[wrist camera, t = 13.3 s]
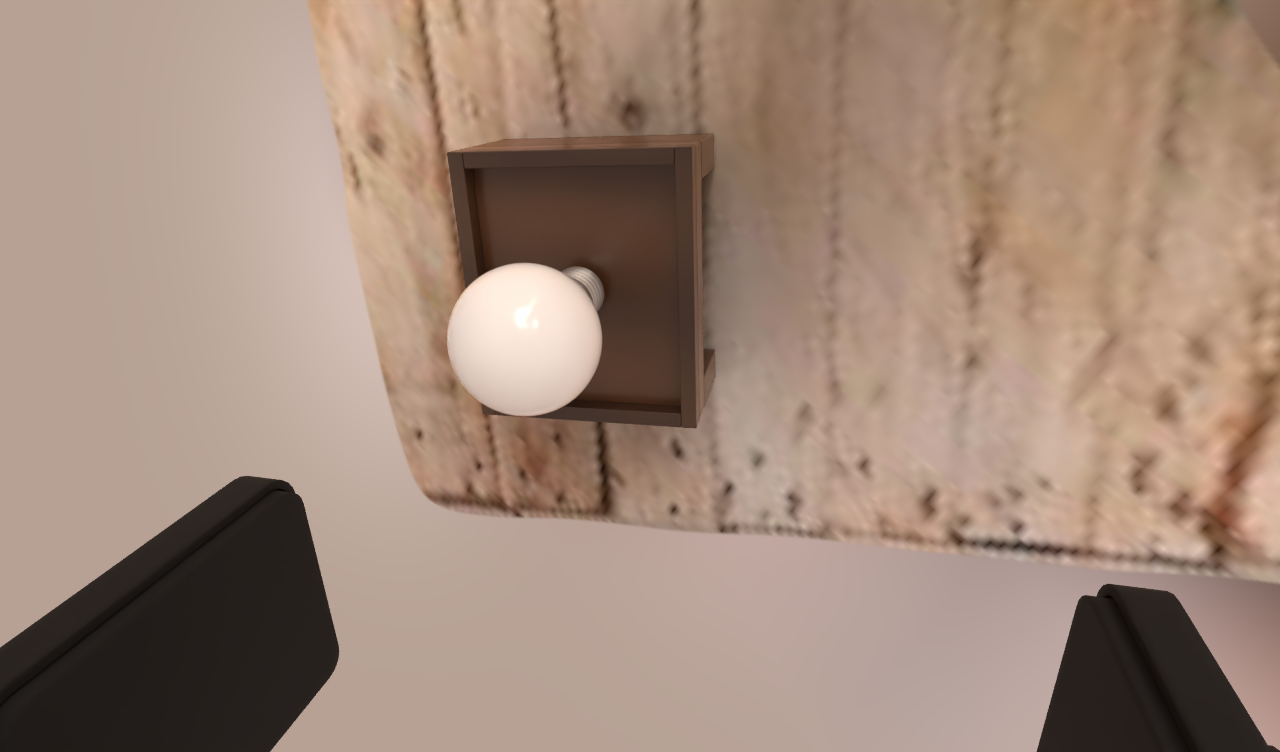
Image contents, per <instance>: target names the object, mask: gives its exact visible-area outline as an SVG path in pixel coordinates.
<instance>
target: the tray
mask: <svg viewBox="0 0 1280 752" xmlns="http://www.w3.org/2000/svg"><path fill="white" fill-rule="evenodd" d="M447 156H448V163H449V170H450V178H451V185H452V192H453V199H454V207H455V214H456V221H457V229H458V236H459V243H460V250H461V258H462V265H463V272H464V280H465V287H466V288H467V287H468V286H469V285H470V284H471V283H472V282H473V281H474V280H476V279H477V278H478V277H480V276H481V275H483V274H484V273H486V272H488V271H490V270H492V269H495V268H497V267H500V266H503V265H508V264H513V263H536V264H541V265H545V266H548V267H551V268H554V269H556V270H558V271H560V272H562V271H563V270H564V269H566V268H569V267H573V266H579V267H584V268H587V269H589V270H590V271H592V272H593V273H594V274H596V275H597V277H598V278H599V279H600V281H601V283H602V285H603V288H604V301H603V304H602V306H601V308H600V309H599V310H598V311H597V313H598V316H599V319H600V323H601V328H602V352H601V357H600V361H599V364H598V367H597V369H596V372H595V374H594V376H593V377H592V379H591V381H590V382H589V384H588V385H587V386H586V388H585V389H584V390H583V391H582V392H581V393H580V394H579V395H578V396H577V397H576V398H575V399H574V400H572V401H571V402H570V403H568V404H567V405H565V406H563V407H562V408H559V409H557V410H555V411H552V412H550V413H546V414H542V415H537V416H518V417H533V418H548V419H564V420H579V421H594V422H609V423H624V424H639V425H654V426H670V427H683V428H697V425H698V423H699V419H700V416H701V414H702V411H703V408H704V406H705V403H706V401H707V398H708V395H709V393H710V390H711V387H712V385H713V382H714V379H715V350H707V349H703V279H702V196H701V179H702V178H703V177H704V176H705V175H707V174H708V173H709V172H710V171H711V170H712V169H714V134H683V135H647V136H611V137H575V138H539V139H505V140H500V141H496V142H491V143H487V144H482V145H478V146H473V147H469V148H465V149H460V150H455V151H451V152H447ZM482 411H483V414H488V415H503V416H514V415H508V414H504V413H501V412H498V411H495V410H493V409H491V408H489V407H487V406H485V405H484V404H482Z"/></svg>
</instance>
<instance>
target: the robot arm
mask: <svg viewBox="0 0 1280 752" xmlns="http://www.w3.org/2000/svg"><path fill="white" fill-rule="evenodd" d="M338 657H339V646H338V641H337V637H336V633H335V629H334V625H333V621H332V617H331V613H330V609H329V605H328V601H327V597H326V593H325V589H324V585H323V581H322V576H321V572H320V569H319V564H318V560H317V556H316V552H315V548H314V544H313V540H312V536H311V532H310V528H309V524H308V520H307V516H306V512H305V507H304V504H303V501H302V499H301V497H300V496H299V495H298V494H295V491H294V489H293V487H292V486H291V485H290V484H289V483H288V482H285V481H283V480H276V479H268V478H260V477H252V476H243V477H239V478H237V479H235V480H233V481H232V482H230V483H229V484H228V485H226V486H225V487H223V488H222V489H221V490H219V491H218V492H216V493H215V494H214V495H212V496H211V497H209V498H208V499H207V500H205V501H204V502H202V503H201V504H200V505H198V506H197V507H196V508H194V509H193V510H191V511H190V512H189V513H187V514H186V515H184V516H183V517H182V518H180V519H179V520H177V521H176V522H175V523H173V524H172V525H170V526H169V527H168V528H167V529H165V530H164V531H162V532H161V533H159V534H158V535H157V536H155V537H154V538H152V539H151V540H150V541H148V542H147V543H145V544H144V545H143V546H141V547H140V548H139V549H137V550H136V551H134V552H133V553H132V554H130V555H129V556H127V557H126V558H125V559H123V560H122V561H120V562H119V563H118V564H116V565H115V566H113V567H112V568H111V569H109V570H108V571H106V572H105V573H104V574H102V575H101V576H100V577H98V578H97V579H95V580H94V581H92V582H91V583H90V584H88V585H87V586H85V587H84V588H83V589H81V590H80V591H78V592H77V593H76V594H74V595H73V596H72V597H70V598H69V599H68V600H66V601H65V602H63V603H62V604H60V605H59V606H58V607H56V608H55V609H53V610H52V611H51V612H49V613H48V614H47V615H45V616H44V617H42V618H41V619H40V620H38V621H37V622H35V623H34V624H32V625H31V626H30V627H28V628H27V629H26V630H24V631H23V632H21V633H20V634H19V635H17V636H16V637H14V638H13V639H12V640H10V641H9V642H8V643H6V644H5V645H3V646H2V647H1V648H0V752H270V751H271V750H272V749H273V747H274V746H275V745H276V743H277V742H278V741H279V740H280V739H281V737H282V736H283V735H284V734H285V732H286V731H287V730H288V729H289V727H290V726H291V725H292V724H293V722H294V721H295V720H296V719H297V718H298V716H299V715H300V714H301V713H302V711H303V710H304V709H305V708H306V706H307V705H308V704H309V703H310V701H311V700H312V699H313V698H314V696H315V695H316V694H317V693H318V691H319V690H320V689H321V688H322V686H323V685H324V684H325V683H326V682H327V680H328V679H329V678H330V676H331V675H332V673H333V672H334V669H335V667H336V665H337V661H338ZM1037 752H1280V751H1279V750H1278V749H1276V748H1275V747H1274V746H1269V745H1267V743H1266V742H1265V740H1264V738H1263V737H1262V735H1261V733H1260V732H1259V730H1258V729H1257V727H1256V726H1255V724H1254V722H1253V721H1252V719H1251V717H1250V716H1249V714H1248V713H1247V711H1246V709H1245V707H1244V706H1243V704H1242V703H1241V701H1240V699H1239V698H1238V696H1237V694H1236V693H1235V691H1234V690H1233V688H1232V686H1231V685H1230V683H1229V682H1228V680H1227V678H1226V676H1225V675H1224V673H1223V672H1222V670H1221V668H1220V667H1219V665H1218V664H1217V662H1216V660H1215V659H1214V657H1213V655H1212V654H1211V652H1210V650H1209V649H1208V647H1207V646H1206V644H1205V642H1204V641H1203V639H1202V637H1201V636H1200V634H1199V633H1198V631H1197V629H1196V628H1195V626H1194V624H1193V623H1192V621H1191V619H1190V618H1189V616H1188V615H1187V613H1186V612H1185V610H1184V608H1183V607H1182V605H1181V603H1180V602H1179V601H1178V599H1177V598H1176V597H1175V595H1174V594H1172V593H1170V592H1168V591H1162V590H1154V589H1146V588H1137V587H1130V586H1122V585H1113V584H1106V585H1103V586H1102V587H1101V589H1100V590H1099V592H1098V594H1097V597H1095V596H1087V595H1085V596H1082V597H1081V598H1080V599H1079V601H1078V604H1077V607H1076V610H1075V614H1074V618H1073V621H1072V625H1071V629H1070V632H1069V636H1068V640H1067V643H1066V647H1065V651H1064V654H1063V658H1062V661H1061V665H1060V669H1059V673H1058V676H1057V680H1056V684H1055V687H1054V691H1053V694H1052V698H1051V702H1050V705H1049V709H1048V713H1047V716H1046V720H1045V724H1044V727H1043V731H1042V734H1041V738H1040V742H1039V746H1038V749H1037Z"/></svg>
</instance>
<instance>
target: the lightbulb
mask: <svg viewBox="0 0 1280 752" xmlns="http://www.w3.org/2000/svg"><path fill="white" fill-rule="evenodd" d="M603 301H604V288H603V285H602V283H601V281H600V279H599V278H598V277H597V275H596V274H594V273H593V272H592V271H590V270H589V269H587V268H584V267H579V266H573V267H569V268H566V269H564V270H563V271H562V272H560V271H558V270H556V269H554V268H551V267H548V266H545V265H541V264H536V263H513V264H508V265H503V266H500V267H497V268H495V269H492V270H490V271H488V272H486V273H484V274H483V275H481V276H480V277H478V278H477V279H476V280H474V281H473V282H472V283H471V284H470V285H469V286H468V287H467V288H466V289H465V291H464V292H463V293H462V294H461V296H460V297H459V299H458V301H457V302H456V304H455V306H454V309H453V311H452V314H451V317H450V320H449V324H448V331H447V347H448V354H449V358H450V362H451V365H452V367H453V370H454V372H455V374H456V376H457V378H458V379H459V381H460V382H461V384H462V385H463V386H464V388H465V389H466V390H467V391H468V392H469V393H470V394H471V395H472V396H473V397H474V398H475V399H477V400H478V401H479V402H481V403H482V404H484V405H485V406H487V407H489V408H491V409H493V410H495V411H498V412H501V413H504V414H508V415H514V416H537V415H542V414H546V413H550V412H552V411H555V410H557V409H559V408H562V407H563V406H565V405H567V404H568V403H570V402H571V401H572V400H574V399H575V398H576V397H577V396H578V395H579V394H580V393H581V392H582V391H583V390H584V389H585V388H586V386H587V385H588V384H589V382H590V381H591V379H592V377H593V376H594V374H595V372H596V369H597V367H598V364H599V361H600V357H601V352H602V328H601V323H600V319H599V316H598V313H597V311H598V310H599V309H600V308H601V306H602V304H603Z"/></svg>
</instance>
